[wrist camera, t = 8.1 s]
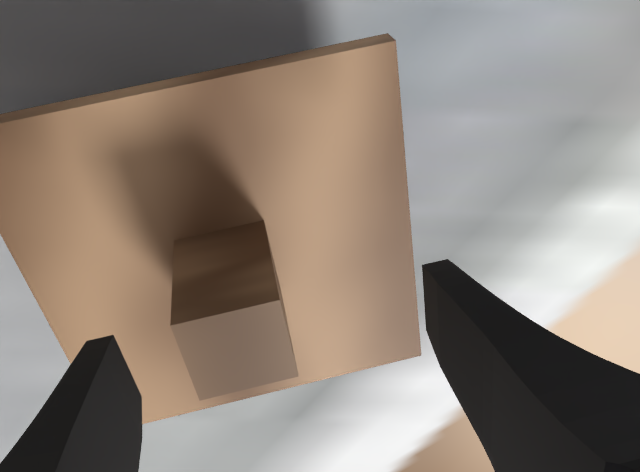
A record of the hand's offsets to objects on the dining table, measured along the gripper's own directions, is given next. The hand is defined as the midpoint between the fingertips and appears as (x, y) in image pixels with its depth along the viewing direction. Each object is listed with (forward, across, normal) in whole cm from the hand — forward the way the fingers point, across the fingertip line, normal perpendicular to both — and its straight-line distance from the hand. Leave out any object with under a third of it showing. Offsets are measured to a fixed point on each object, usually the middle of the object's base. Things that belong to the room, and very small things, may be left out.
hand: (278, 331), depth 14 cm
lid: (+6, +1, +2) cm, 7 cm away
